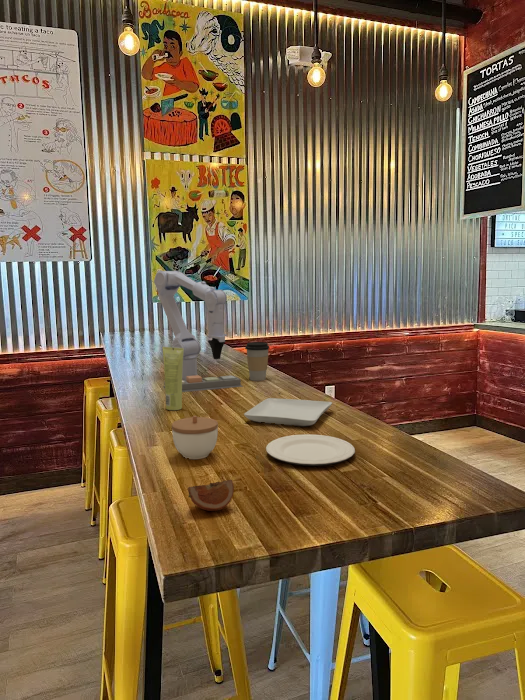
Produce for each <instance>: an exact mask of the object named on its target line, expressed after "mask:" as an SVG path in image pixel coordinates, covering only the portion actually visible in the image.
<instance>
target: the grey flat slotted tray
mask: <svg viewBox="0 0 525 700" xmlns="http://www.w3.org/2000/svg"><path fill="white" fill-rule="evenodd" d="M233 376H234V377H235V378H236V379H232V380H222V379H220V376H216V377H217V378H218V379H219V381H209V382H206V381H204V380H203V378H204V377H202V382H197V383H188V382H187V381H186V380H184V379H182V380H183V381H184V382H185V384H182V393H186V392H187V393H188V392H198V391H199V392H200V391H208V390H219V389H229V388H231V389H232V388H233V389H234V388H241V387H242V388H243V387H244V386H243V385H242V383H241V382H242V380H241V378H240V377H237V376H236V375H233ZM163 384H164V385H162V387H163V389H165V381H164V382H163Z"/></svg>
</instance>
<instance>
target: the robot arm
mask: <svg viewBox="0 0 525 700" xmlns="http://www.w3.org/2000/svg"><path fill="white" fill-rule="evenodd" d="M153 283H154V285H155V288H156V290H157V293H158V298H159V301H160V304H161V306H162V309H163V310H164V313H165V315H166V316H165V317H166V318H167V320H168V323H169V326H170V328H171V330H172V332H173V335H174V338H173V340H172V342H171V344H172V347H173V348H184V352H183V367H182V380H186V376H195V375H198V361H197V360H198V359H197V358H198V357H199V355H200V352H201V348H202V347H201V344H200V342H199V341H198V340H197V338H196V337H195V335H194V334H193V333H191V332H190V331H189V330H188V328H187V326H186V323H185V321H184V318H183V316H182V313H181V311H180V309H179V307H178V304H177V301H176V299H175V294H177V292H178V290H179V289H180V287H181V286H182V287H184V288H186V289H188V290H190V291H192V295H194V296H195V297H197V298H198V299H200V300H202V301H204V303H205V305H206V309H207V317H208V318H207V319H208V320H207V321H208V328H207V329H208V332H207V337H208V338H209V339H208V340H207V342H208V344H209V345H208V346H209V347H210V350H211V354H212V358H213V360H220V359H221V356H222V351H223V347H224V345H225V343H226V337H228V334H227V333H225V322H224V321H225V320H224V319H225V317H224V315H225V313H224V312H225V311H224V306H225V304H226V302H227V299H228V298H227V294H226V292H225V291H224V290H223V289H215V287H214V286H209V285H208V284H207V282H206V281H205V280H203V281H198V282H196V281H195V280H193V279H191V278H190V277H188V276H186V275H185V274H184V273H183V272H182V271H179V270H158V271H157V272H156V274H155V277H154V281H153ZM210 339H211V340H210Z"/></svg>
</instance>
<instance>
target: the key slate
mask: <svg viewBox="0 0 525 700" xmlns="http://www.w3.org/2000/svg"><path fill="white" fill-rule="evenodd" d="M234 376H235V375H232V374H231V375H222V376H221V375H220V376H219V377H220V379H222V380H232V379H236V378H235V377H236V376H235V377H234Z"/></svg>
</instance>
